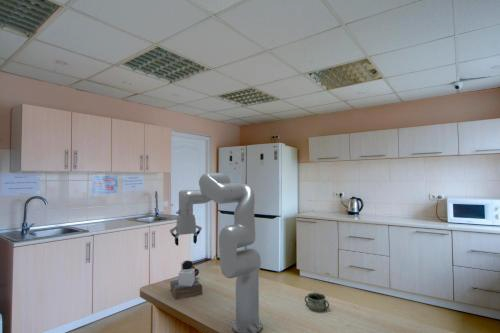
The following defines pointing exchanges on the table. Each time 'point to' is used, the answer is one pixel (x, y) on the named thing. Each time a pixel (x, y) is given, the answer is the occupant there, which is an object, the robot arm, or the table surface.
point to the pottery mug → (195, 271)
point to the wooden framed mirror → (185, 290)
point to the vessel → (316, 301)
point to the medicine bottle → (186, 274)
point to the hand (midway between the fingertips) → (186, 244)
